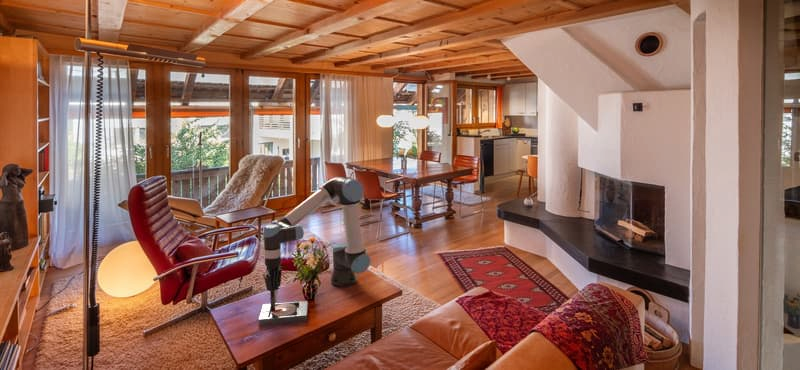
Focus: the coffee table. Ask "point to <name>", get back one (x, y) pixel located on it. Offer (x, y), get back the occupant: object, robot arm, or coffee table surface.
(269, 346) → the coffee table surface
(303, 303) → the dial housing
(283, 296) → the coffee table surface
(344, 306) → the coffee table surface
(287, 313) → the dial
